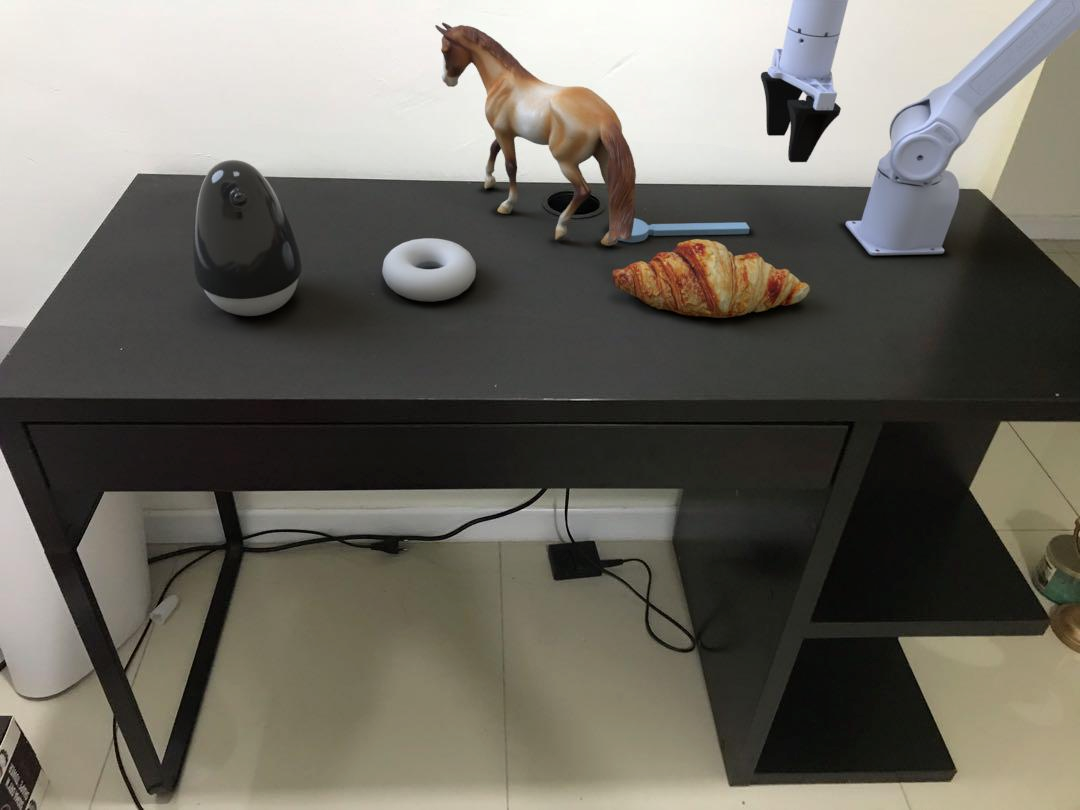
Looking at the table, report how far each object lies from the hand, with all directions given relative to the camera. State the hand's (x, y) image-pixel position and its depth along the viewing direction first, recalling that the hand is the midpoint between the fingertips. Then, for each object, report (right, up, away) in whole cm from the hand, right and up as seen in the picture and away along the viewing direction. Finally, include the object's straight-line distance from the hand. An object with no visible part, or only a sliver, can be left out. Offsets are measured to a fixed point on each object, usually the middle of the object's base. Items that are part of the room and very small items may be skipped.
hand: (786, 147), depth 108 cm
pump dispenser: (-59, -20, -15) cm, 64 cm away
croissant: (-11, -20, -10) cm, 25 cm away
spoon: (-12, -10, +2) cm, 16 cm away
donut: (-41, -18, -10) cm, 46 cm away
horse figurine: (-31, -10, 0) cm, 33 cm away
